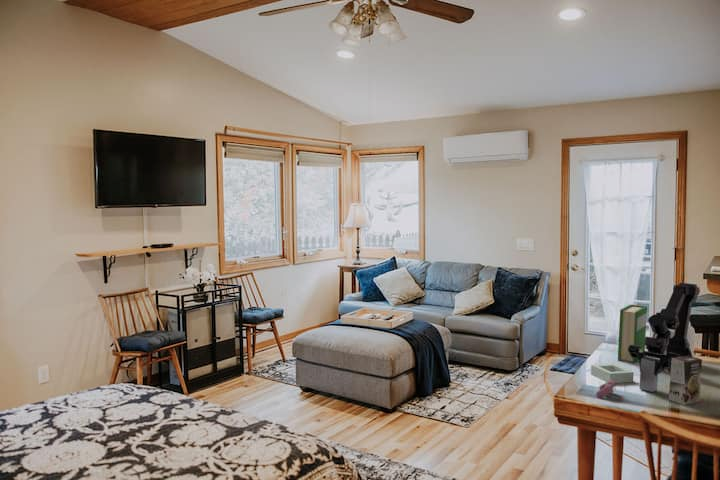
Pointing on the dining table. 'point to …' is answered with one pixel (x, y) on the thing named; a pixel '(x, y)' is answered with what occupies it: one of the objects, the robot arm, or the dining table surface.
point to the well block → (612, 373)
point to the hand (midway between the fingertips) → (647, 373)
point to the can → (689, 337)
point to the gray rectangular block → (648, 374)
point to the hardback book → (631, 330)
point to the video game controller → (606, 389)
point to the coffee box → (685, 380)
